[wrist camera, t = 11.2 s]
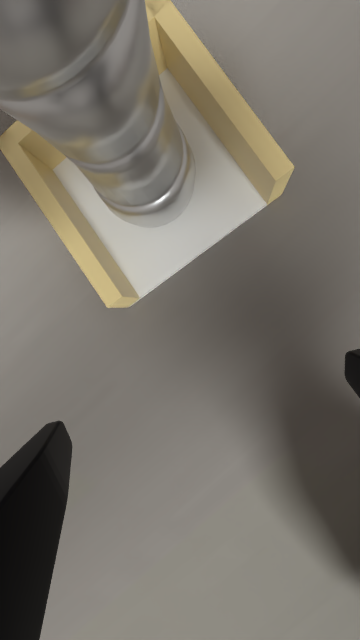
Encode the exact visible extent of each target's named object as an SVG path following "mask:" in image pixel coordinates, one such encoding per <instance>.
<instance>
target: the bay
mask: <svg viewBox="0 0 360 640" xmlns="http://www.w3.org/2000/svg"><path fill="white" fill-rule="evenodd" d="M145 5H146V12H147V19H148V26H149V33H150V39H151V43H152V47H153V52H154V56H155V60H156V64H157V68H158V72H159V77H160V81H161V85H162V89H163V92H164V95H165V97H166V100H167V102H168V104H169V107H170V109H171V111H172V114H173V116H174V118H175V121H176V122H177V124H178V125H179V126H180V128H181V129H182V131H183V133H184V135H185V137H186V139H187V141H188V143H189V145H190V147H191V149H192V151H193V155H194V159H195V168H196V174H195V184H194V191H193V194H192V197H191V200H190V202H189V204H188V205H187V207H186V208H185V210H184V211H183V212H182V213H181V215H179V216H178V217H177V218H176V219H175V220H173V221H171V222H170V223H168V224H166V225H162V226H159V227H152V228H147V227H140V226H137V225H134V224H131V223H128V222H125V221H124V220H122V219H120V218H118V217H117V216H116V215H115V214H113V213H112V212H111V211H110V210H109V209H108V207H107V206H106V205H105V203H104V202H103V201H102V199H101V198H100V197H99V195H98V194H97V192H96V191H95V189H94V187H93V185H92V184H91V183H90V182H89V180H88V179H87V178H86V177H85V176H84V175H83V173H82V172H81V171H80V170H79V169H78V168H77V166H76V165H75V164H74V163H73V162H72V161H71V160H69V159H68V158H67V157H66V156H65V155H64V154H62V153H61V152H59V151H58V150H57V149H56V148H55V147H53V146H52V145H51V144H50V143H48V142H47V141H46V140H45V139H44V138H42V137H41V136H40V135H39V134H37V133H36V132H35V131H33V130H32V129H30V128H29V127H27V126H26V125H24V124H23V123H21V122H19V121H18V120H17V121H15V122H14V123H13V124H12V125H11V126H10V127H9V128H8V129H7V130H6V131H5V132H4V133H3V134H2V135H1V136H0V150H1V151H2V152H3V154H4V155H5V157H6V158H7V160H8V161H9V163H10V164H11V166H12V167H13V169H14V170H15V172H16V173H17V175H18V176H19V178H20V179H21V181H22V182H23V184H24V185H25V187H26V188H27V189H28V191H29V192H30V194H31V195H32V197H33V198H34V200H35V201H36V203H37V204H38V206H39V207H40V209H41V210H42V212H43V213H44V215H45V216H46V218H47V219H48V221H49V222H50V223H51V225H52V226H53V228H54V229H55V231H56V232H57V234H58V235H59V237H60V238H61V240H62V241H63V243H64V244H65V246H66V247H67V249H68V250H69V252H70V253H71V255H72V256H73V257H74V259H75V260H76V262H77V263H78V265H79V266H80V268H81V269H82V271H83V272H84V274H85V275H86V277H87V278H88V280H89V281H90V283H91V284H92V286H93V287H94V289H95V290H96V291H97V293H98V294H99V296H100V297H101V299H102V300H103V302H104V303H105V305H106V306H107V308H127V307H130V306H132V305H133V304H135V303H136V302H137V301H139V300H140V299H141V298H143V297H144V296H145V295H147V294H148V293H149V292H151V291H152V290H153V289H155V288H156V287H157V286H159V285H160V284H162V283H163V282H164V281H166V280H167V279H168V278H170V277H171V276H172V275H174V274H175V273H176V272H178V271H179V270H180V269H182V268H183V267H185V266H186V265H187V264H189V263H190V262H191V261H193V260H194V259H195V258H197V257H198V256H199V255H201V254H202V253H203V252H205V251H206V250H208V249H209V248H210V247H212V246H213V245H214V244H216V243H217V242H218V241H220V240H221V239H222V238H224V237H225V236H226V235H228V234H229V233H230V232H232V231H233V230H235V229H236V228H237V227H239V226H240V225H241V224H243V223H244V222H245V221H247V220H248V219H249V218H251V217H252V216H253V215H255V214H256V213H258V212H259V211H260V210H262V209H263V208H264V207H266V206H267V205H268V204H270V203H271V202H272V201H274V200H275V199H276V198H278V197H279V196H280V195H282V193H283V191H284V189H285V187H286V184H287V182H288V180H289V178H290V176H291V174H292V172H293V170H294V166H293V164H292V163H291V162H290V160H289V159H288V158H287V156H286V155H285V154H284V152H283V151H282V150H281V148H280V147H279V146H278V144H277V143H276V142H275V140H274V139H273V138H272V136H271V135H270V134H269V132H268V131H267V129H266V128H265V127H264V125H263V124H262V123H261V121H260V120H259V119H258V117H257V116H256V115H255V113H254V112H253V111H252V109H251V108H250V107H249V105H248V104H247V103H246V101H245V100H244V99H243V97H242V96H241V95H240V93H239V92H238V91H237V89H236V88H235V87H234V85H233V84H232V83H231V81H230V80H229V78H228V77H227V76H226V74H225V73H224V72H223V70H222V69H221V68H220V66H219V65H218V64H217V62H216V61H215V60H214V58H213V57H212V56H211V54H210V53H209V52H208V50H207V49H206V48H205V46H204V45H203V44H202V42H201V41H200V40H199V38H198V37H197V36H196V34H195V33H194V31H193V30H192V29H191V27H190V26H189V25H188V23H187V22H186V21H185V19H184V18H183V17H182V15H181V14H180V13H179V11H178V10H177V9H176V7H175V6H174V5H173V3H172V2H171V1H170V0H145Z"/></svg>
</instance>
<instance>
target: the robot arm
mask: <svg viewBox="0 0 360 640" xmlns="http://www.w3.org/2000/svg"><path fill="white" fill-rule="evenodd" d="M345 378H346V380H347V382H348V383H349V384H350V386H351V387H352V388H353V390H354V391H355V392H356V394H357V395H358V396H359V398H360V349H357V350H352V351H348V352H347V353H346V355H345ZM71 457H72V442H71V439H70V437H69V435H68V432H67V430H66V428H65V426H64V424H63V422H62V421H56V422H52V423H48V424H46V425H45V426H44V427H43V428H42V429H41V430H40V431H39V432H38V433H37V434H35V435H34V436H33V437H32V438H31V439H30V440H29V441H28V442H27V443H26V444H25V445H24V446H23V447H22V448H21V449H20V450H19V451H17V452H16V453H15V454H14V455H13V456H12V457H11V458H10V459H9V460H8V461H7V462H6V463H5V464H4V465H3V466H2V467H0V640H39V639H40V634H41V629H42V624H43V619H44V614H45V609H46V604H47V599H48V594H49V589H50V584H51V579H52V574H53V569H54V564H55V559H56V554H57V549H58V544H59V539H60V534H61V529H62V524H63V520H64V515H65V510H66V504H67V498H68V489H69V478H70V467H71Z"/></svg>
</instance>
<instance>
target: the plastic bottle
mask: <svg viewBox="0 0 360 640" xmlns="http://www.w3.org/2000/svg"><path fill="white" fill-rule="evenodd" d="M0 109H1V110H3V111H4V112H6V113H7V114H9V115H10V116H12V117H13V118H15V119H16V120H18V121H19V122H21V123H23V124H24V125H26V126H27V127H29V128H30V129H32V130H33V131H35V132H36V133H37V134H39V135H40V136H41V137H42V138H44V139H45V140H46V141H47V142H48V143H50V144H51V145H52V146H53V147H55V148H56V149H57V150H58V151H59V152H61V153H62V154H64V155H65V156H66V157H67V158H68V159H69V160H71V161H72V162H73V163H74V164H75V165H76V166H77V168H78V169H79V170H80V171H81V172H82V173H83V175H84V176H85V177H86V178H87V179H88V180H89V182H90V183H91V184H92V185H93V187H94V189H95V191H96V192H97V194H98V195H99V197H100V198H101V199H102V201H103V202H104V203H105V205H106V206H107V207H108V209H109V210H110V211H111V212H112V213H113V214H115V215H116V216H117V217H118V218H120V219H122V220H124V221H125V222H128V223H131V224H134V225H137V226H140V227H147V228H152V227H159V226H162V225H166V224H168V223H170V222H171V221H173V220H175V219H176V218H177V217H178V216H179V215H181V213H182V212H183V211H184V210H185V208H186V207H187V205H188V204H189V202H190V200H191V197H192V194H193V191H194V184H195V174H196V168H195V159H194V155H193V151H192V149H191V147H190V145H189V143H188V141H187V139H186V137H185V135H184V133H183V131H182V129H181V128H180V126H179V125H178V124H177V122H176V121H175V118H174V116H173V114H172V111H171V109H170V107H169V104H168V102H167V100H166V97H165V95H164V92H163V89H162V85H161V81H160V77H159V72H158V68H157V64H156V60H155V56H154V52H153V47H152V43H151V39H150V33H149V26H148V19H147V12H146V5H145V0H0Z"/></svg>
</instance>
